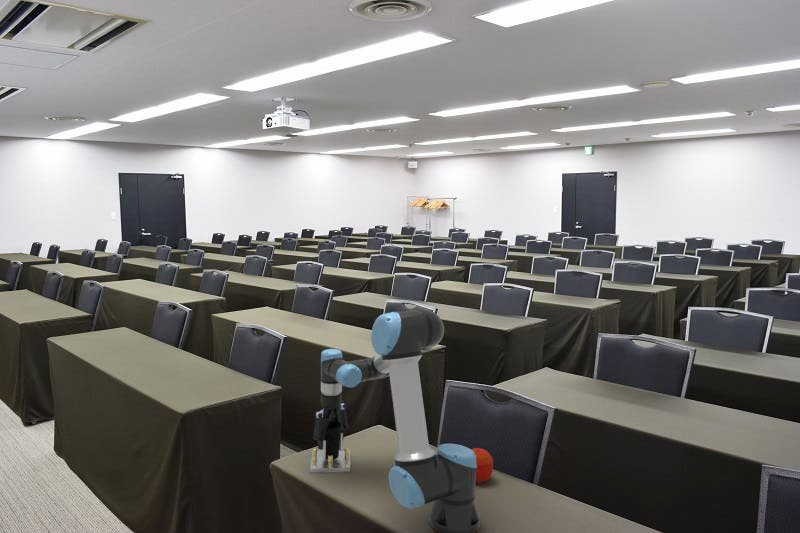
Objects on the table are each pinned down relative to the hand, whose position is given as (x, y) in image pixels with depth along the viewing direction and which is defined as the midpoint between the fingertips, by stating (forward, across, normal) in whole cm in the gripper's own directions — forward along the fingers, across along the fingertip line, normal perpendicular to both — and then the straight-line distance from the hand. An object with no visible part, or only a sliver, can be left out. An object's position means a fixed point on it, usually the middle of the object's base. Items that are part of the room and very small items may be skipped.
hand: (330, 453), depth 204 cm
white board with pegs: (+4, 0, 0) cm, 4 cm away
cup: (+1, 0, 0) cm, 1 cm away
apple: (+4, -26, +47) cm, 53 cm away
